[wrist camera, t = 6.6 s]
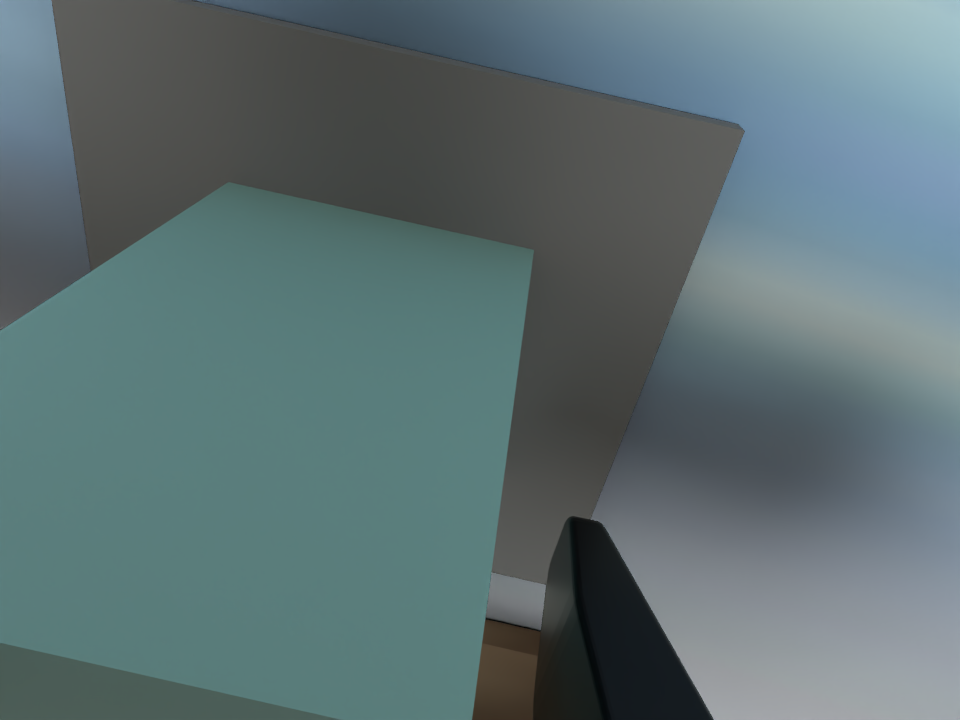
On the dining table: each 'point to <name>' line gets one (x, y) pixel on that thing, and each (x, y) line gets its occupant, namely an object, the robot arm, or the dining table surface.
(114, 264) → the block
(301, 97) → the mat
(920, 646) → the dining table surface
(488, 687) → the crate
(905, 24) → the dining table surface
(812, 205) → the dining table surface
